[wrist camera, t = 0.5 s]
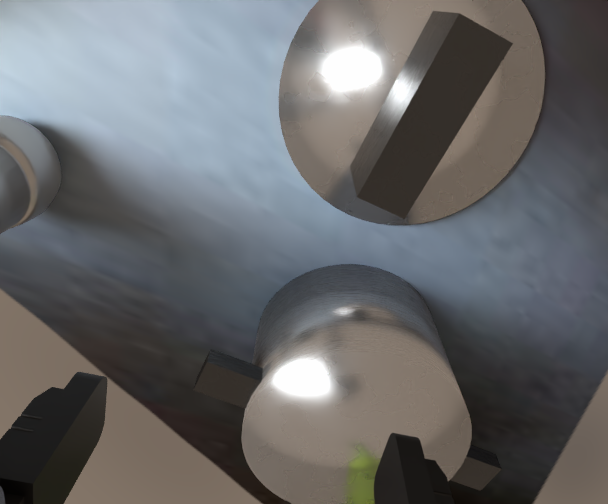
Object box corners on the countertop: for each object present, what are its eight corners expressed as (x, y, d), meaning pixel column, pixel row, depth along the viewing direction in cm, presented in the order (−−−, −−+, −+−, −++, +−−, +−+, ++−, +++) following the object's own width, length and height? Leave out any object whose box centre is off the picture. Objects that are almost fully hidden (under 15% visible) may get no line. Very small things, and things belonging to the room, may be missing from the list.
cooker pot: (260, 216, 34) (242, 293, 25) (505, 322, 38) (565, 421, 29) (193, 359, 40) (159, 462, 31) (411, 438, 44) (437, 550, 35)
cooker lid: (354, -106, 26) (366, -136, 20) (594, 36, 29) (665, 45, 23) (241, 160, 33) (226, 195, 27) (445, 253, 36) (471, 302, 30)
